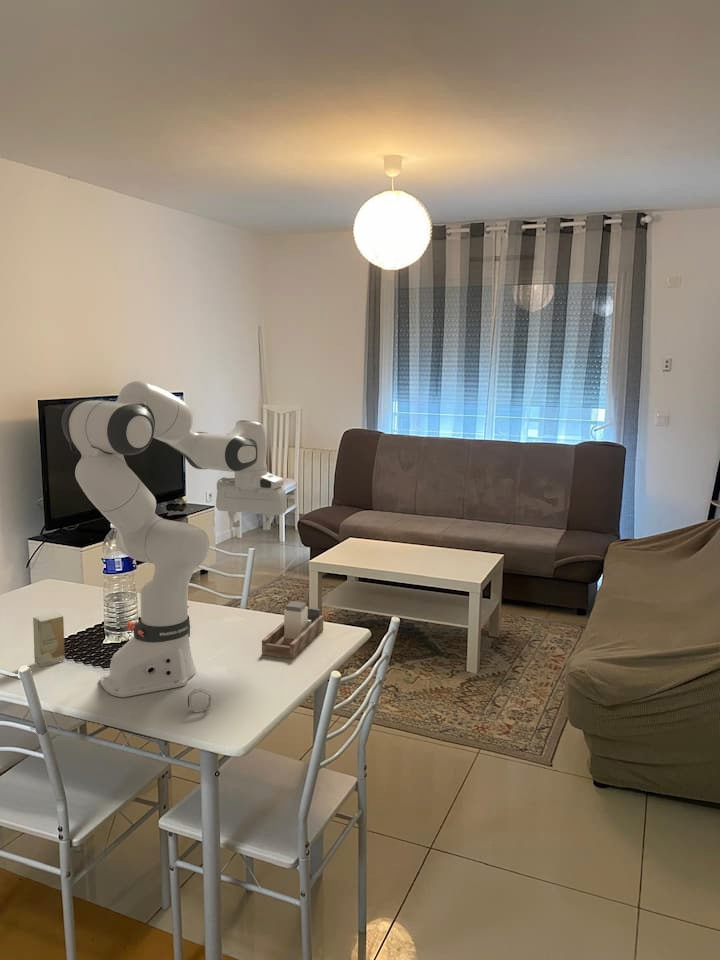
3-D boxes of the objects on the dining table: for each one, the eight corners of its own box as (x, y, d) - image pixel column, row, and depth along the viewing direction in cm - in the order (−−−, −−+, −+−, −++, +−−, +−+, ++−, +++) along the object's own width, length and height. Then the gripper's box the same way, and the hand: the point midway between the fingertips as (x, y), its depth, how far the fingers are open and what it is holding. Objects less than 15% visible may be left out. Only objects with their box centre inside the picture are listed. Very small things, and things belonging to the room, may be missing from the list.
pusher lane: (293, 659, 188) (293, 637, 187) (261, 654, 190) (261, 633, 189) (323, 629, 209) (323, 609, 209) (294, 625, 212) (294, 605, 211)
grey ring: (187, 709, 160) (187, 688, 159) (210, 706, 161) (210, 686, 160) (188, 715, 157) (188, 694, 156) (211, 712, 158) (211, 691, 158)
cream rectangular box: (301, 640, 198) (301, 608, 197) (284, 637, 200) (284, 606, 198) (307, 633, 203) (307, 602, 201) (291, 631, 204) (291, 600, 203)
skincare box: (41, 668, 180) (38, 621, 178) (34, 663, 183) (31, 617, 181) (66, 660, 185) (64, 615, 183) (58, 656, 188) (56, 611, 186)
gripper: (211, 478, 197) (212, 527, 199) (280, 483, 191) (280, 533, 193) (222, 475, 203) (223, 523, 205) (289, 479, 197) (289, 528, 199)
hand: (251, 528), depth 199 cm, fingers open, 8 cm apart
